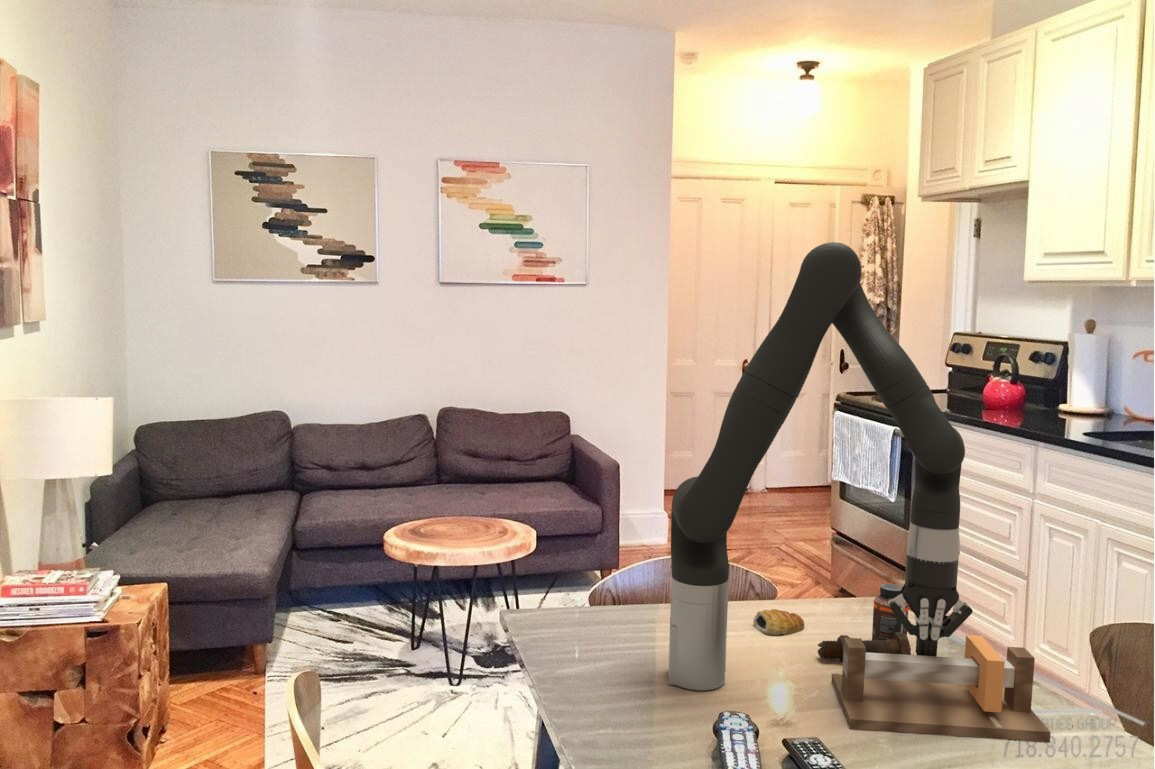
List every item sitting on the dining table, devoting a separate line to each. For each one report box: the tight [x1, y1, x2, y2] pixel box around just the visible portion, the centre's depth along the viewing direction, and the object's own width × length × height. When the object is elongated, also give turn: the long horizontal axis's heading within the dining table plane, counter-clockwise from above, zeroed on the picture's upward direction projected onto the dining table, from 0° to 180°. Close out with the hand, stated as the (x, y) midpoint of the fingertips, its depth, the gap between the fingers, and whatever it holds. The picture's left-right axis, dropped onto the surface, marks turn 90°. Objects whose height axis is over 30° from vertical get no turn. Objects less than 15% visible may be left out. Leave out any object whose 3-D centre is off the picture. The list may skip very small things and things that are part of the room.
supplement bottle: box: [871, 583, 909, 640], centre depth 164 cm, size 6×6×11 cm
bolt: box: [817, 632, 912, 665], centre depth 158 cm, size 6×5×15 cm
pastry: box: [752, 608, 805, 636], centre depth 173 cm, size 9×7×4 cm
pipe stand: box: [830, 637, 1051, 743], centre depth 140 cm, size 28×16×10 cm, turn 84°
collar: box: [964, 634, 1005, 712], centre depth 139 cm, size 2×10×8 cm, turn 174°
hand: (925, 660), depth 143 cm, fingers closed
